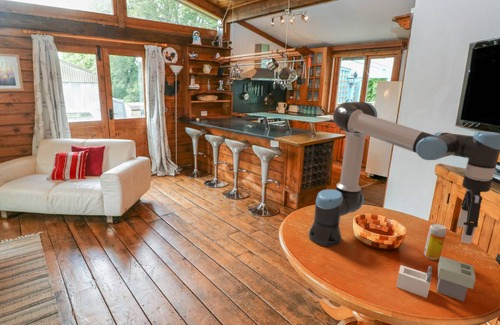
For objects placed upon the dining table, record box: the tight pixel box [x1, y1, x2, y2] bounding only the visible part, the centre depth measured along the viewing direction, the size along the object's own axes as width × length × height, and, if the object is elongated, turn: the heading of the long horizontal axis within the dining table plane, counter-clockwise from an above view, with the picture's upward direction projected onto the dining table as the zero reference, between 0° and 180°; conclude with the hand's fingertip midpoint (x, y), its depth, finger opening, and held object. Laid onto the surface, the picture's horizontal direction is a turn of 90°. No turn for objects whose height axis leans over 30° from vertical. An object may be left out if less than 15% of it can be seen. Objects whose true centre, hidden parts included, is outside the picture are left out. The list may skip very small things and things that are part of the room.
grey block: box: [437, 255, 476, 290], centre depth 102 cm, size 10×9×4 cm
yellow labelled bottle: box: [423, 223, 447, 261], centre depth 125 cm, size 6×6×15 cm
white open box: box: [395, 264, 433, 299], centre depth 105 cm, size 10×6×10 cm, turn 57°
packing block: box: [436, 278, 468, 302], centre depth 104 cm, size 8×5×7 cm, turn 57°
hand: (463, 234), depth 102 cm, fingers open, 13 cm apart
